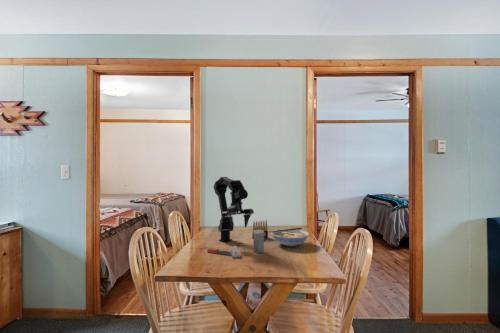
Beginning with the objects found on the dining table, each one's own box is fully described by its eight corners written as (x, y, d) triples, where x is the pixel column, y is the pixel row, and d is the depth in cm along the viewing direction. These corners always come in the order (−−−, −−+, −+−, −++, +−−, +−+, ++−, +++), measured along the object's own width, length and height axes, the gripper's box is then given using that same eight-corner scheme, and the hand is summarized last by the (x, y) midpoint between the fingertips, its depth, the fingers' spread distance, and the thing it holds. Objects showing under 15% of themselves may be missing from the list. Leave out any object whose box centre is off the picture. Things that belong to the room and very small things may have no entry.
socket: (253, 252, 149) (253, 230, 149) (259, 250, 152) (259, 229, 152) (258, 253, 146) (258, 231, 146) (263, 252, 149) (263, 230, 149)
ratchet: (209, 251, 151) (209, 242, 151) (243, 254, 145) (243, 245, 145) (203, 254, 145) (203, 245, 145) (238, 258, 138) (238, 248, 138)
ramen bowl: (280, 252, 149) (280, 237, 149) (263, 242, 170) (263, 229, 170) (318, 247, 158) (318, 233, 158) (297, 238, 179) (297, 226, 179)
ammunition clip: (253, 239, 178) (253, 221, 178) (252, 238, 179) (252, 220, 180) (268, 238, 181) (268, 220, 181) (267, 237, 183) (267, 219, 183)
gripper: (215, 202, 157) (217, 229, 153) (244, 198, 149) (246, 227, 146) (225, 202, 167) (227, 228, 163) (252, 199, 159) (255, 226, 156)
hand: (238, 227), depth 157 cm, fingers open, 9 cm apart
